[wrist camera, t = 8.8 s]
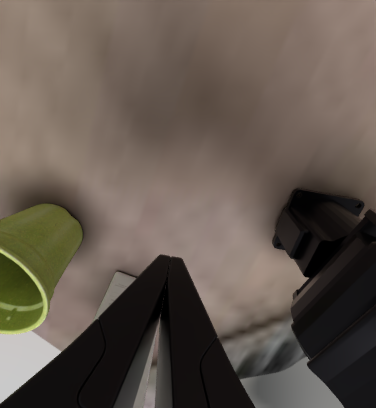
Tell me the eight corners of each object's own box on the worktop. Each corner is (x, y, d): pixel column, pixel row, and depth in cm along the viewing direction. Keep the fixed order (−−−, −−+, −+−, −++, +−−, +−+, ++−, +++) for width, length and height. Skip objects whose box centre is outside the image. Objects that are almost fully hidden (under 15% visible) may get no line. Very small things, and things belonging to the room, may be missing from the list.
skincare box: (117, 268, 26) (13, 473, 11) (169, 288, 26) (133, 502, 12) (99, 312, 29) (2, 513, 15) (146, 328, 30) (96, 533, 16)
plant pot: (22, 258, 26) (-57, 327, 18) (-1, 182, 22) (-115, 229, 14) (101, 267, 26) (57, 340, 18) (93, 192, 22) (31, 244, 14)
